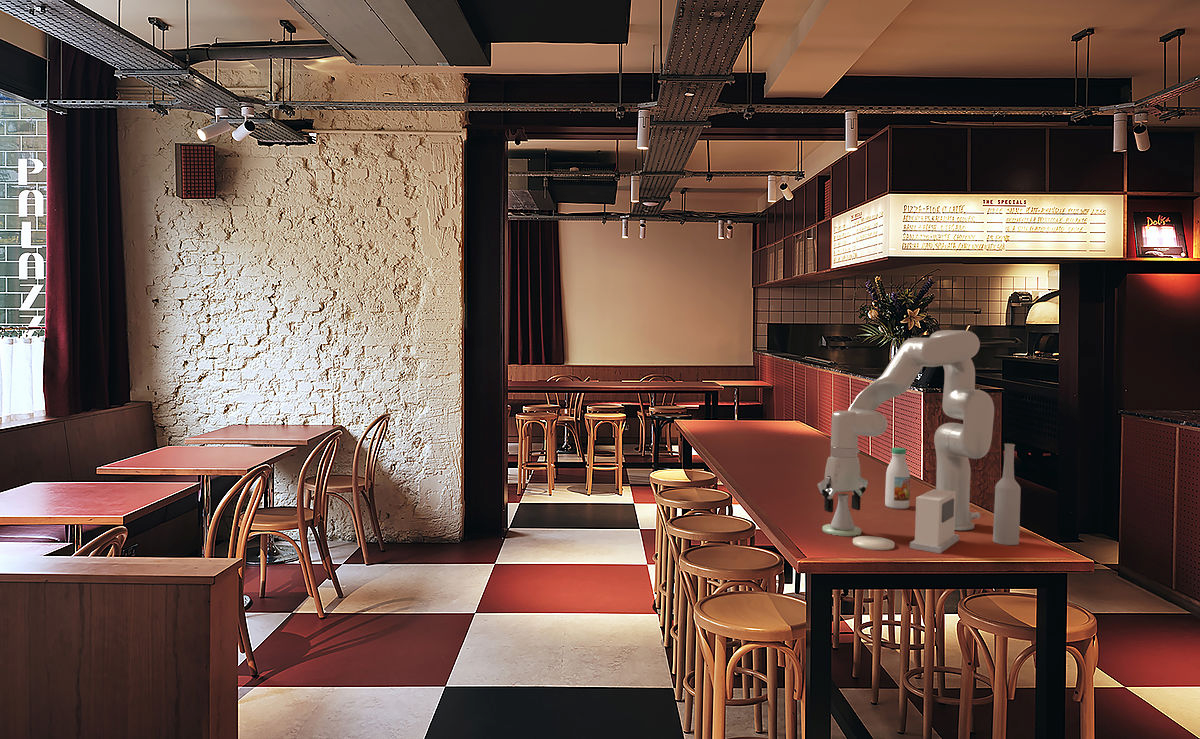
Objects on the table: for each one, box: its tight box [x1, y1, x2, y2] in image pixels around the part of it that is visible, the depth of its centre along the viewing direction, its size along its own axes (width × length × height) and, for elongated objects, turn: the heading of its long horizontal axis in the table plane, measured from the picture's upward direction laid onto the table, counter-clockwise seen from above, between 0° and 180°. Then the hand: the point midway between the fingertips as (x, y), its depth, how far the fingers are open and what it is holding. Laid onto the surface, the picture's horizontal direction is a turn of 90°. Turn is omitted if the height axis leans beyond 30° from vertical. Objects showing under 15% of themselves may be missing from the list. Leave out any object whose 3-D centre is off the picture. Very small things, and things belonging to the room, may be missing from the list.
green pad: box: [821, 523, 862, 537], centre depth 237 cm, size 11×11×1 cm
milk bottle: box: [884, 447, 911, 510], centre depth 271 cm, size 8×8×20 cm
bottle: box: [992, 443, 1022, 546], centre depth 226 cm, size 7×7×28 cm
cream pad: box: [852, 535, 895, 551], centre depth 223 cm, size 11×11×1 cm
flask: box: [829, 493, 856, 530], centre depth 237 cm, size 7×7×10 cm
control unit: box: [909, 488, 960, 554], centre depth 224 cm, size 8×18×14 cm, turn 141°
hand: (842, 510), depth 237 cm, fingers open, 9 cm apart
